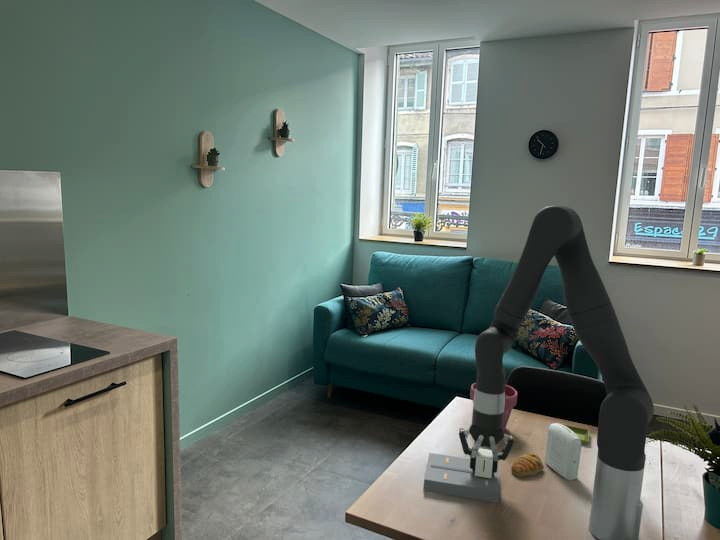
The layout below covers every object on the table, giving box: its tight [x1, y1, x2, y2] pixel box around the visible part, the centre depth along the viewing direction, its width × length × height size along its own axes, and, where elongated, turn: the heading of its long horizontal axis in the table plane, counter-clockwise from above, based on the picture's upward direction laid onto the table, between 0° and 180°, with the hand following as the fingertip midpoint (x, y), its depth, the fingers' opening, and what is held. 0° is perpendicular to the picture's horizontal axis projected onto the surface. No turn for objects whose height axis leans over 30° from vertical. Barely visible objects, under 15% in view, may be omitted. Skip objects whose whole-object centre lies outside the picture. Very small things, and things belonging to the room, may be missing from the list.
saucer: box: [561, 423, 590, 445], centre depth 165 cm, size 9×9×2 cm
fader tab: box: [475, 447, 493, 478], centre depth 134 cm, size 4×5×5 cm
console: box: [422, 452, 501, 504], centre depth 136 cm, size 18×14×3 cm
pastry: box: [510, 452, 545, 478], centre depth 143 cm, size 9×7×4 cm
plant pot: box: [469, 382, 518, 432], centre depth 168 cm, size 14×14×13 cm
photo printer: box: [544, 422, 582, 481], centre depth 143 cm, size 10×4×12 cm, turn 17°
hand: (483, 471), depth 134 cm, fingers closed on fader tab, 4 cm apart
